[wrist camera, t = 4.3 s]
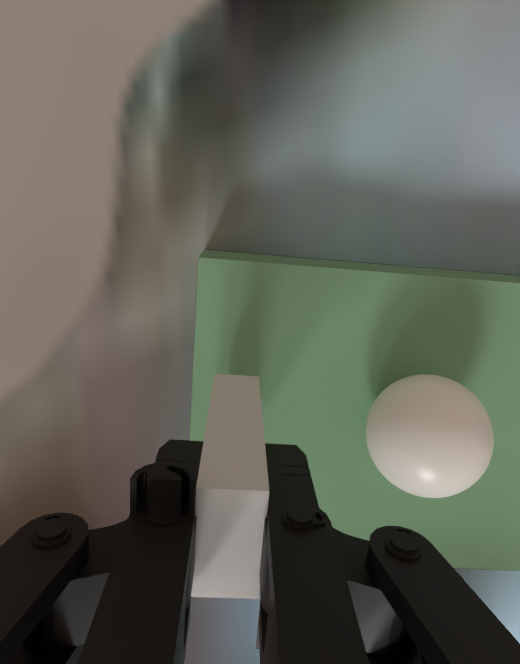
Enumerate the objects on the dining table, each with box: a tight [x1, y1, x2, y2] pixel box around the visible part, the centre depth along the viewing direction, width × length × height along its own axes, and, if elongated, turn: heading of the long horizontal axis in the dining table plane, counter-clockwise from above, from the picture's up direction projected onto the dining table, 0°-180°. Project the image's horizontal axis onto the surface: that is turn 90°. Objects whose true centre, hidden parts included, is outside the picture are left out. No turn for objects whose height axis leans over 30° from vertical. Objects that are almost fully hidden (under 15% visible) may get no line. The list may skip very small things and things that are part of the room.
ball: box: [365, 374, 494, 498], centre depth 16 cm, size 4×4×4 cm
